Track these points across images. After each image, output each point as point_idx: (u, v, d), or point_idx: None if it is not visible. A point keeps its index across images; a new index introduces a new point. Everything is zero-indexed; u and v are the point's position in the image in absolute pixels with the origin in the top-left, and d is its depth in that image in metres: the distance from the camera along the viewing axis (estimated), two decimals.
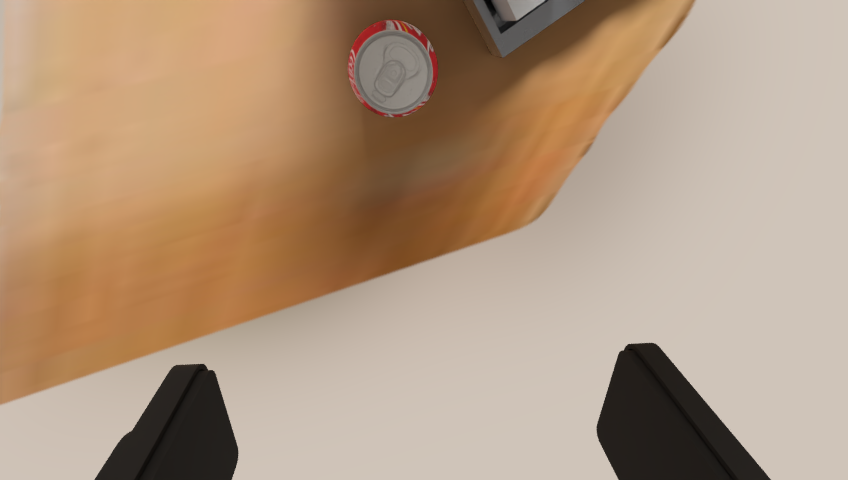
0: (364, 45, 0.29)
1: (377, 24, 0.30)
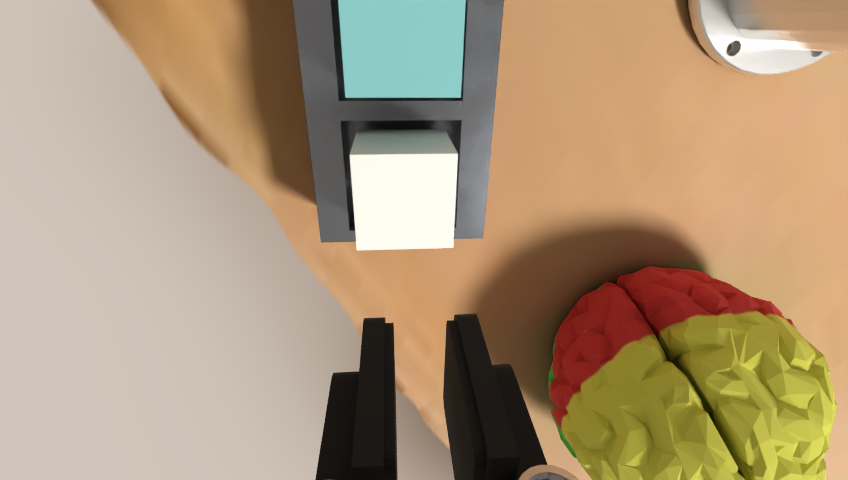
0: None
1: None
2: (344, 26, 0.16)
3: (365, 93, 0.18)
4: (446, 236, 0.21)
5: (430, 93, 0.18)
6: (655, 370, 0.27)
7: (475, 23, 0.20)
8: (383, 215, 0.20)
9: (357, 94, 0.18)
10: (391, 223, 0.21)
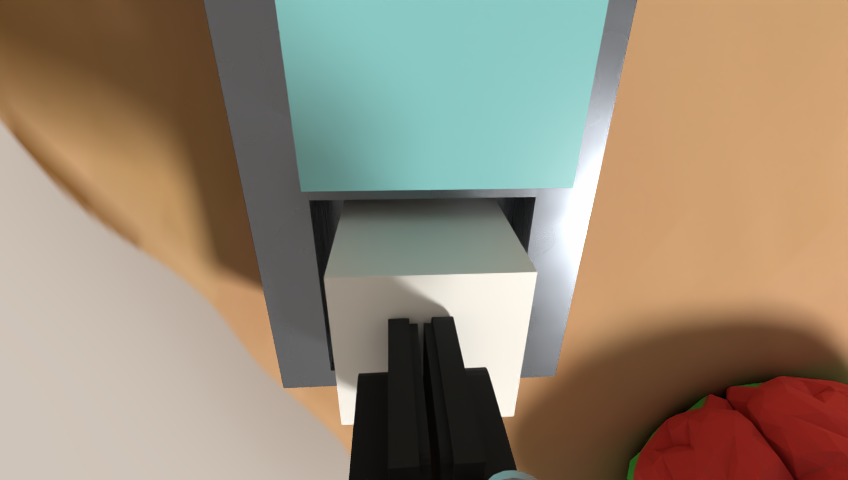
0: None
1: None
2: (289, 20, 0.06)
3: (349, 182, 0.07)
4: (502, 401, 0.12)
5: (503, 180, 0.08)
6: None
7: None
8: None
9: (329, 184, 0.07)
10: None
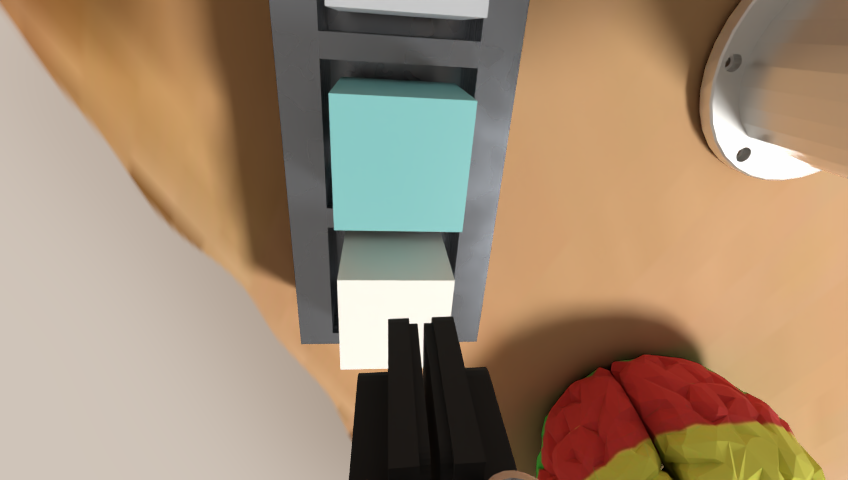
0: None
1: None
2: (336, 161, 0.15)
3: (356, 226, 0.16)
4: None
5: (429, 227, 0.16)
6: None
7: (480, 137, 0.19)
8: (371, 337, 0.19)
9: (347, 227, 0.16)
10: (379, 344, 0.19)
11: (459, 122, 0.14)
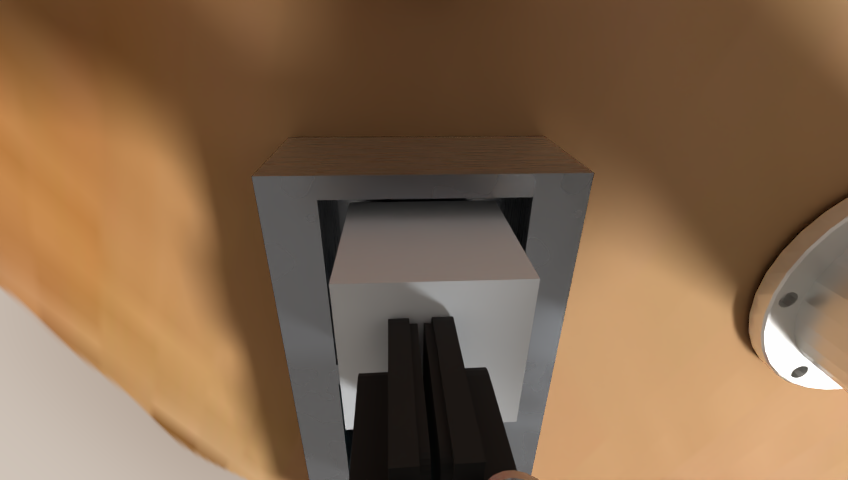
0: None
1: None
2: None
3: None
4: None
5: None
6: None
7: (511, 427, 0.17)
8: None
9: None
10: None
11: None
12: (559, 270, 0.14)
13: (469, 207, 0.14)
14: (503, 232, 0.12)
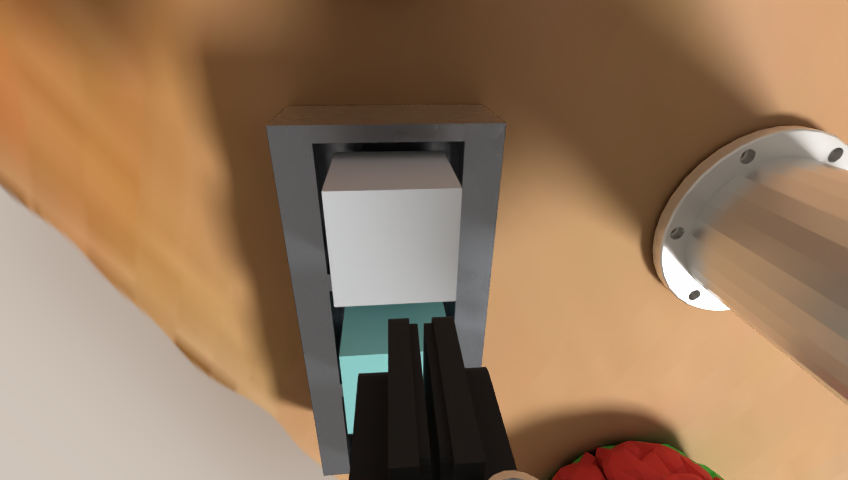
0: None
1: None
2: (347, 394, 0.19)
3: None
4: None
5: None
6: None
7: (462, 328, 0.23)
8: None
9: None
10: None
11: None
12: (488, 197, 0.19)
13: (422, 154, 0.19)
14: (444, 166, 0.17)
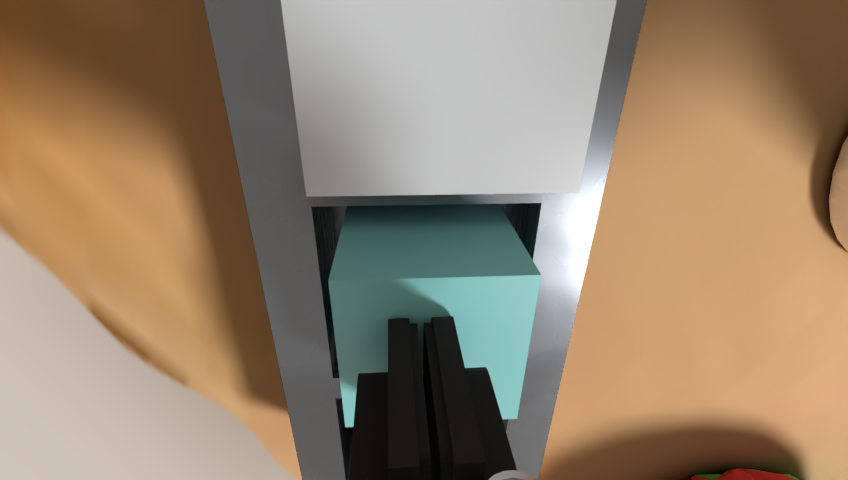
0: None
1: None
2: (343, 355, 0.11)
3: None
4: None
5: None
6: None
7: (542, 286, 0.13)
8: None
9: None
10: None
11: (514, 301, 0.10)
12: (624, 9, 0.10)
13: None
14: None
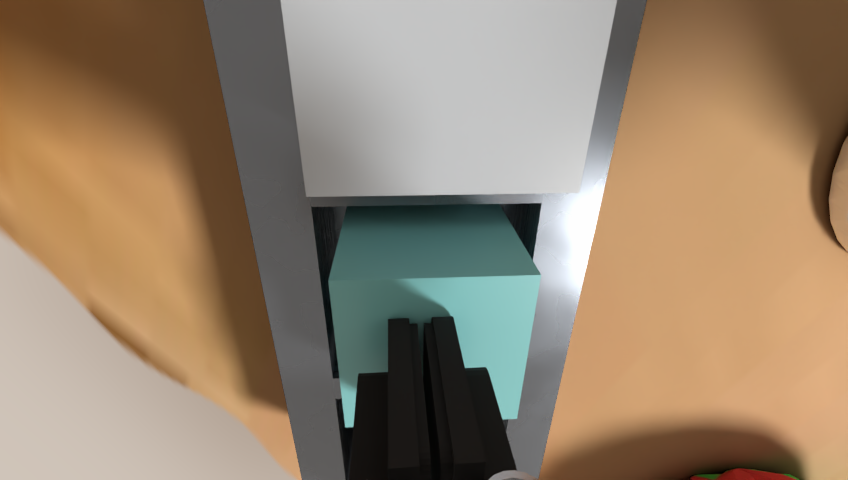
0: None
1: None
2: (343, 355, 0.11)
3: None
4: None
5: None
6: None
7: (542, 286, 0.13)
8: None
9: None
10: None
11: (514, 301, 0.10)
12: (624, 9, 0.10)
13: None
14: None
